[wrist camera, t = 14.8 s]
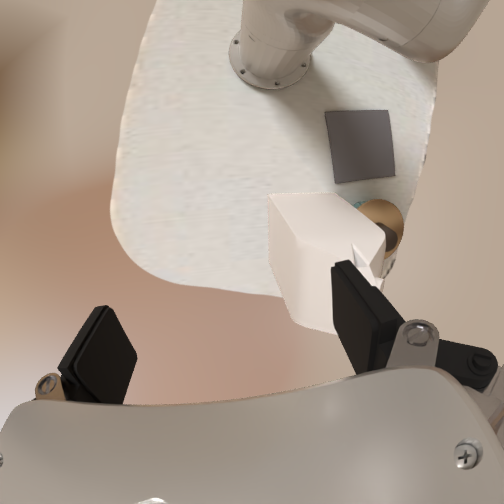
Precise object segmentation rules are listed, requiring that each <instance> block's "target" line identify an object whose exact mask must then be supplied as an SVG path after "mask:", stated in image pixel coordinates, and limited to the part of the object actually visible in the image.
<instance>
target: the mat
mask: <svg viewBox="0 0 504 504" xmlns="http://www.w3.org/2000/svg"><path fill="white" fill-rule="evenodd" d="M325 117H326V123H327V129H328V135H329V141H330V148H331V155H332V162H333V170H334V178H335V183H343V182H350V181H357V180H364V179H372V178H380V177H389V176H395V164H394V153H393V143H392V135H391V127H390V120H389V113H388V110H358V111H337V112H325Z"/></svg>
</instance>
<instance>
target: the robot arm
mask: <svg viewBox="0 0 504 504" xmlns="http://www.w3.org/2000/svg"><path fill="white" fill-rule="evenodd" d="M488 2H489V0H243V7H242V18H241V30H240V31H239V32H238V33H237V34H236V35H235V36H234V38H233V39H232V41H231V44H230V48H229V59H230V63H231V65H232V68H233V70H234V71H235V72H236V74H237V75H238V76H239V77H240V78H241V79H242V80H244V81H245V82H247V83H249V84H251V85H253V86H255V87H259V88H263V89H281V88H285V87H288V86H290V85H292V84H294V83H295V82H297V81H298V80H299V79H300V78H301V77H303V75H304V74H305V73H306V71H307V69H308V67H309V63H310V54H311V53H312V52H313V51H314V50H315V48H316V47H317V46H318V45H319V44H320V43H321V42H322V41H323V40H324V39H325V38H326V37H327V36H328V35H329V34H330V32H331V31H332V29H333V27H334V24H335V22H336V23H338V24H342V25H344V26H347V27H349V28H351V29H353V30H355V31H357V32H359V33H361V34H363V35H365V36H367V37H369V38H371V39H373V40H375V41H377V42H379V43H381V44H382V45H384V46H386V47H388V48H390V49H391V50H393V51H395V52H397V53H399V54H400V55H402V56H404V57H406V58H408V59H411V60H413V61H416V62H421V63H431V62H435V61H438V60H441V59H442V58H444V57H446V56H447V55H449V54H450V53H451V52H452V51H453V50H454V49H455V48H456V47H457V46H458V45H459V44H460V43H461V42H462V41H463V39H464V38H465V37H466V35H467V34H468V32H469V31H470V30H471V28H472V27H473V25H474V24H475V22H476V21H477V19H478V18H479V16H480V15H481V13H482V12H483V10H484V8H485V7H486V5H487V4H488ZM235 43H238V44H237V45H236V44H235ZM301 65H303V66H304V67H302V66H301ZM241 72H244V74H241ZM275 83H277V84H278V86H276V85H275ZM331 285H332V312H333V325H334V328H335V330H336V332H337V334H338V336H339V338H340V341H341V343H342V345H343V347H344V349H345V351H346V353H347V355H348V357H349V360H350V362H351V364H352V366H353V368H354V370H355V372H356V375H354V376H349V377H346V378H341V379H337V380H334V381H329V382H325V383H321V384H317V385H312V386H308V387H303V388H298V389H294V390H288V391H283V392H278V393H272V394H267V395H260V396H254V397H247V398H240V399H231V400H223V401H213V402H201V403H188V404H164V405H124V404H123V401H124V398H125V395H126V392H127V388H128V386H129V382H130V379H131V376H132V373H133V371H134V368H135V364H136V362H137V353H136V351H135V350H134V348H133V346H132V344H131V343H130V341H129V339H128V337H127V335H126V334H125V332H124V330H123V328H122V326H121V324H120V322H119V320H118V318H117V317H116V314H115V312H114V310H113V309H111V308H110V307H109V306H107V305H105V306H98V307H95V308H94V310H93V311H92V313H91V314H90V316H89V318H88V319H87V320H86V322H85V323H84V325H83V326H82V328H81V329H80V331H79V333H78V334H77V336H76V337H75V339H74V341H73V342H72V344H71V345H70V347H69V349H68V350H67V352H66V354H65V356H64V357H63V359H62V360H61V362H60V364H59V366H58V370H59V371H60V372H61V374H62V375H61V377H60V376H59V375H58V374H56V373H49V374H47V375H45V376H44V377H42V378H41V379H40V380H39V381H38V383H37V385H36V388H35V394H36V398H35V399H33V400H31V401H28V402H25V403H22V404H20V405H18V406H17V407H15V408H14V409H13V411H12V412H11V413H10V415H9V417H8V419H7V420H6V422H5V424H4V426H3V428H2V430H1V432H0V504H504V365H503V366H502V367H500V366H498V362H497V359H496V357H495V356H494V355H493V354H492V353H491V352H490V351H489V350H487V349H484V348H479V347H475V346H470V345H465V344H460V343H455V342H450V341H446V340H442V339H439V332H438V330H437V328H436V327H435V326H434V325H433V324H432V323H429V322H428V321H425V320H418V319H415V320H410V321H407V322H405V321H404V319H403V318H402V317H401V315H400V314H399V313H398V312H397V311H396V309H395V308H394V307H393V306H392V304H391V303H390V302H389V301H388V300H387V299H386V297H385V296H384V295H383V294H382V292H381V291H380V290H379V289H378V288H377V287H376V286H372V285H371V284H370V283H369V282H368V281H367V280H366V278H365V277H364V276H363V275H362V274H361V272H360V271H359V270H358V269H357V268H356V267H355V266H354V264H353V263H352V262H351V261H350V260H344V261H339V262H335V266H333V267H331Z"/></svg>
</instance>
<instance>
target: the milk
mask: <svg viewBox="0 0 504 504" xmlns="http://www.w3.org/2000/svg"><path fill="white" fill-rule="evenodd" d="M267 197H268V245H269V264H270V266H271V269H272V271H273V274H274V276H275V279H276V281H277V283H278V286H279V288H280V291H281V293H282V296H283V298H284V301H285V303H286V306H287V308H288V311H289V313H290V316H291V318H292V320H293V321H294V322H295V323H297V324H299V325H301V326H304V327H307V328H312V329H315V330H319V331H323V332H327V333H331V334H335V335H338V334H337V332H336V330H335V328H334V325H333V312H332V285H331V267H333V266H335V262H339V261H344V260H350V261H351V262H352V263H353V264H354V266H355V267H356V268H357V269H358V270H359V271H360V272H361V274H362V275H363V276H364V277H365V278H366V280H367V281H368V282H369V283H370V284H371V285H372V286H376V287H377V288H378V289H379V290H380V291H381V292H382V291H383V287H384V279H381V273H382V267H383V262H384V256H385V249H386V237H385V232H384V231H383V230H382V229H381V228H380V227H378V226H377V225H376V224H375V223H373V222H372V221H371V220H370V219H368V218H367V217H366V216H365V215H363V214H362V213H361V212H360V211H358V210H357V209H356V208H355V207H353V206H352V205H351V204H349V203H348V202H347V201H345V200H344V199H343V198H341V197H340V196H339V195H337V194H336V193H284V194H267Z"/></svg>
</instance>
